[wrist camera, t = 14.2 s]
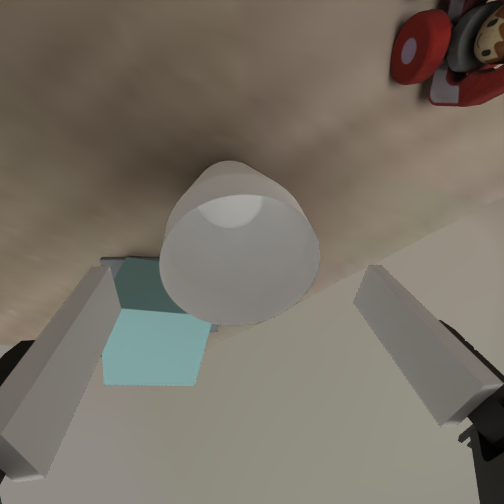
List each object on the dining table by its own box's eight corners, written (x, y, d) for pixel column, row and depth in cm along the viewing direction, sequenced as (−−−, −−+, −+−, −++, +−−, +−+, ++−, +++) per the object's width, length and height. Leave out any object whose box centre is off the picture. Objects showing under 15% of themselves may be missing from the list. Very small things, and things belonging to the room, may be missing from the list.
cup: (269, 237, 26) (304, 324, 16) (184, 236, 25) (164, 331, 15) (282, 149, 21) (344, 194, 11) (178, 141, 20) (142, 185, 10)
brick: (125, 328, 30) (104, 384, 24) (126, 257, 24) (99, 306, 19) (197, 333, 32) (194, 385, 26) (213, 269, 27) (213, 316, 21)
